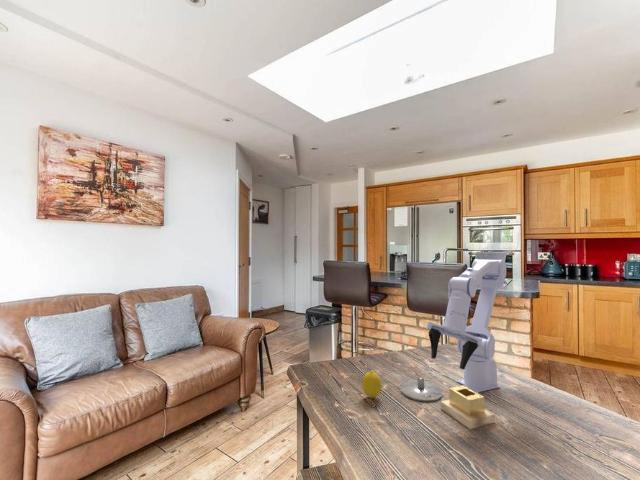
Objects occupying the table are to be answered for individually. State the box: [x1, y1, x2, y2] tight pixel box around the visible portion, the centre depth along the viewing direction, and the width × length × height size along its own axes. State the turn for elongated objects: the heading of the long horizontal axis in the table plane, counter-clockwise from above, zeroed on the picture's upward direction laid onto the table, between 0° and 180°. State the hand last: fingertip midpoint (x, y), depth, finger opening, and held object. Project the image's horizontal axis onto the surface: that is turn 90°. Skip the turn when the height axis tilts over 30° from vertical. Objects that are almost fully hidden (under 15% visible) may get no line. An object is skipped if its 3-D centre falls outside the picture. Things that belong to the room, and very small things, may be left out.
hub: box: [400, 376, 443, 403], centre depth 94 cm, size 12×12×4 cm
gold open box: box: [448, 384, 486, 416], centre depth 80 cm, size 5×7×4 cm
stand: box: [440, 399, 495, 430], centre depth 80 cm, size 8×10×4 cm
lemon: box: [362, 370, 382, 399], centre depth 90 cm, size 6×6×8 cm
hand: (447, 363), depth 83 cm, fingers open, 7 cm apart
